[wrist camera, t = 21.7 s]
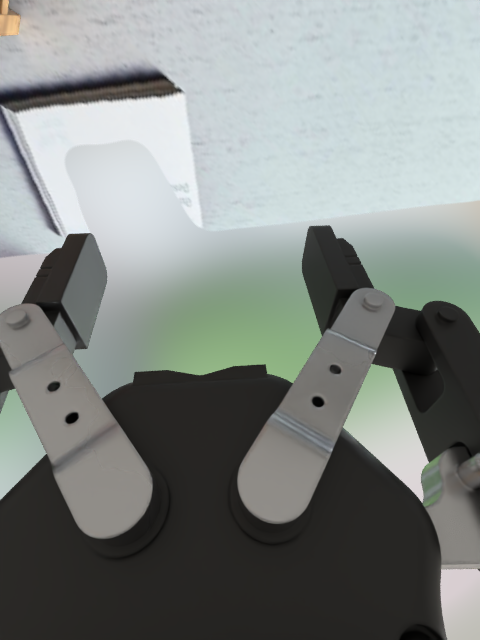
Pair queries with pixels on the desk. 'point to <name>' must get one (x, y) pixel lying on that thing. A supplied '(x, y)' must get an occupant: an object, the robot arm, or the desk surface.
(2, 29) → the shelf
